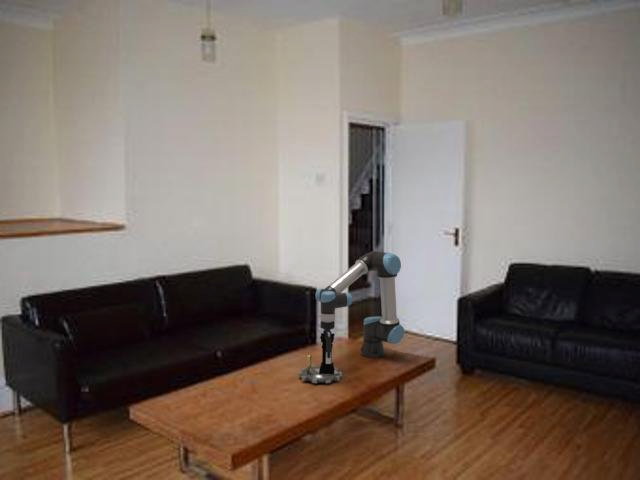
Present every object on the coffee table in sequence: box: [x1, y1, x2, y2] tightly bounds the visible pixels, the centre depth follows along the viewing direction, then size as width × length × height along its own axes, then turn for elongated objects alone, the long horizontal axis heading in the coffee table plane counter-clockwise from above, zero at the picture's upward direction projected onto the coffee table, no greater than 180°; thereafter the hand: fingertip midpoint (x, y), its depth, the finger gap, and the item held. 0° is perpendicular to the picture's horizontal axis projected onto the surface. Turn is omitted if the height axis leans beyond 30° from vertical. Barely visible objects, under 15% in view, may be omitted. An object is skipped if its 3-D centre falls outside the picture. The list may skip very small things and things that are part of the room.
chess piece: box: [319, 332, 336, 374], centre depth 309 cm, size 8×8×20 cm
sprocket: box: [298, 354, 343, 384], centre depth 309 cm, size 23×23×12 cm
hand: (327, 359), depth 309 cm, fingers open, 13 cm apart
